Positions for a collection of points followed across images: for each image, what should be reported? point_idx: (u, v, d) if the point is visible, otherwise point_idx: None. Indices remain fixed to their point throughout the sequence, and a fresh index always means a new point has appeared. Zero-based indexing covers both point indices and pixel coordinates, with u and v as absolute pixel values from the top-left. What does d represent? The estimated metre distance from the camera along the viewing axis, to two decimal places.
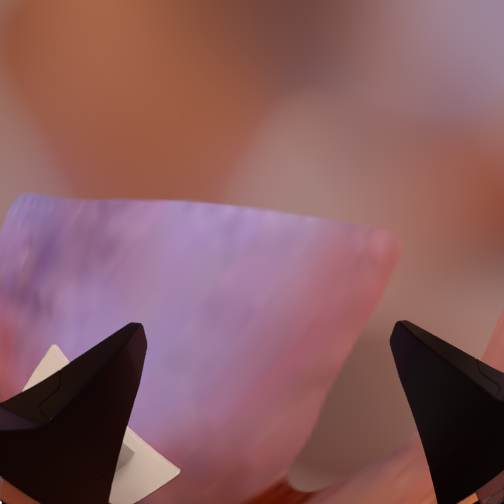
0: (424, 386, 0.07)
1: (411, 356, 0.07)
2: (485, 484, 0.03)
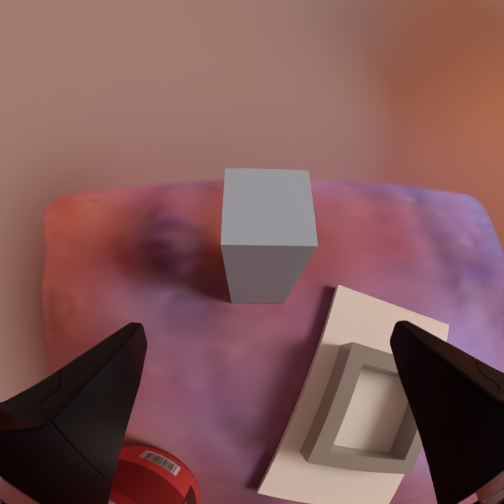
0: (424, 386, 0.07)
1: (411, 356, 0.07)
2: (485, 484, 0.03)
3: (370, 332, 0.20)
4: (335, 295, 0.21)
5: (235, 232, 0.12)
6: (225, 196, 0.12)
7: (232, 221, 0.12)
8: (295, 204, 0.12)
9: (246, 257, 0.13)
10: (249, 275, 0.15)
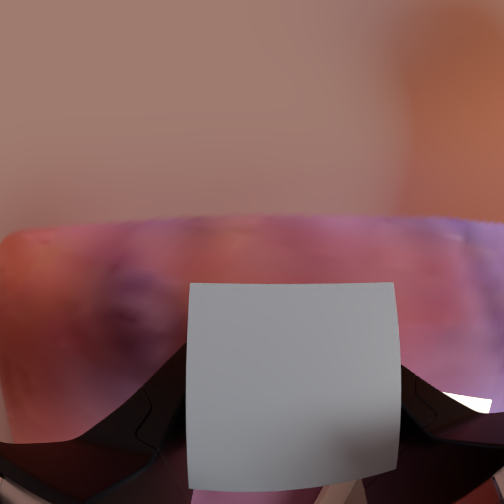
0: None
1: None
2: None
3: None
4: None
5: (219, 466, 0.04)
6: (191, 373, 0.04)
7: (212, 442, 0.04)
8: (363, 386, 0.04)
9: None
10: None
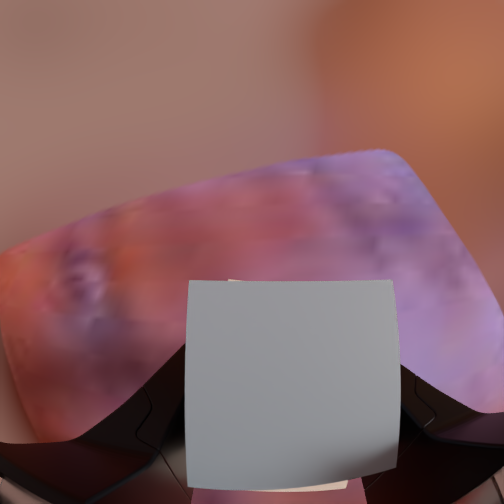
0: None
1: None
2: None
3: None
4: None
5: (218, 464, 0.04)
6: (190, 370, 0.04)
7: (211, 440, 0.04)
8: (362, 384, 0.04)
9: None
10: None
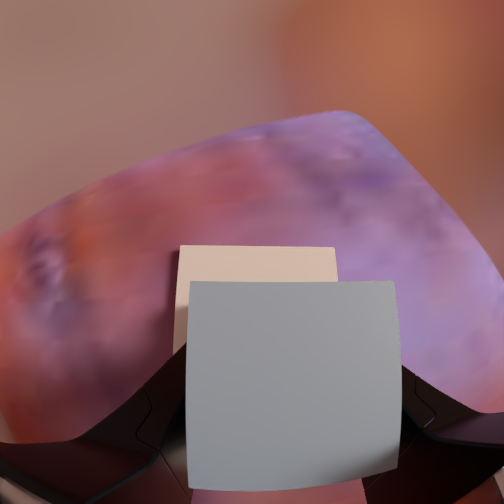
0: None
1: None
2: None
3: None
4: (180, 256, 0.21)
5: (219, 465, 0.04)
6: (190, 371, 0.04)
7: (212, 441, 0.04)
8: (364, 384, 0.04)
9: None
10: None
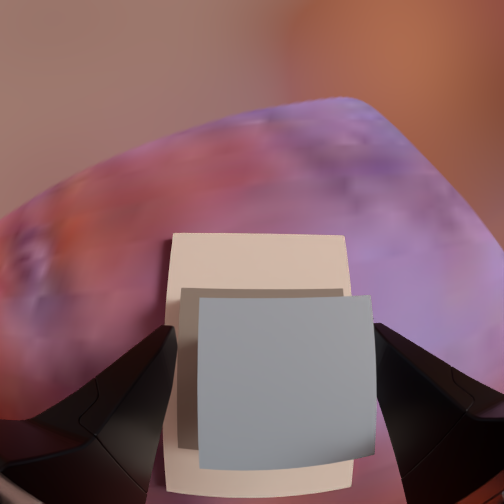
0: (395, 393, 0.07)
1: (383, 361, 0.07)
2: (457, 502, 0.03)
3: (225, 273, 0.18)
4: (172, 245, 0.19)
5: (224, 448, 0.05)
6: (201, 371, 0.05)
7: (219, 428, 0.05)
8: (343, 382, 0.05)
9: None
10: None
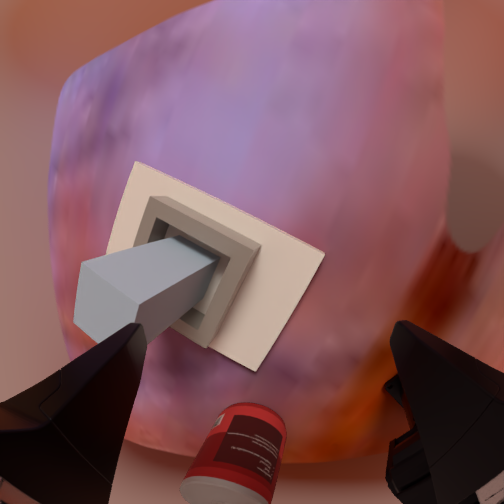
0: (424, 386, 0.07)
1: (411, 356, 0.07)
2: (485, 484, 0.03)
3: None
4: None
5: None
6: (92, 337, 0.13)
7: None
8: (104, 296, 0.12)
9: None
10: (165, 318, 0.16)
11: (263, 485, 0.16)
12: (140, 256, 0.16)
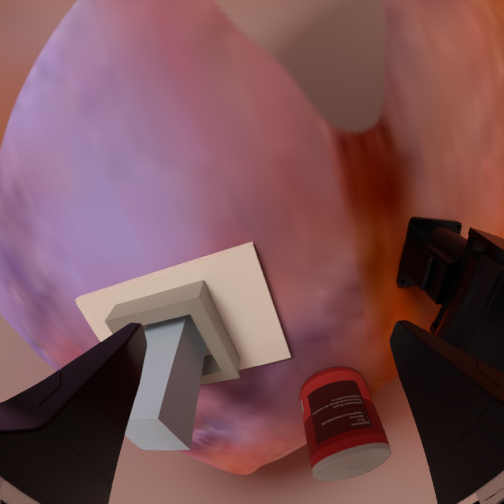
0: (424, 386, 0.07)
1: (411, 356, 0.07)
2: (485, 484, 0.03)
3: None
4: None
5: (178, 446, 0.14)
6: (159, 449, 0.14)
7: (172, 447, 0.14)
8: (138, 426, 0.13)
9: (185, 425, 0.15)
10: (189, 395, 0.17)
11: (367, 434, 0.18)
12: None
